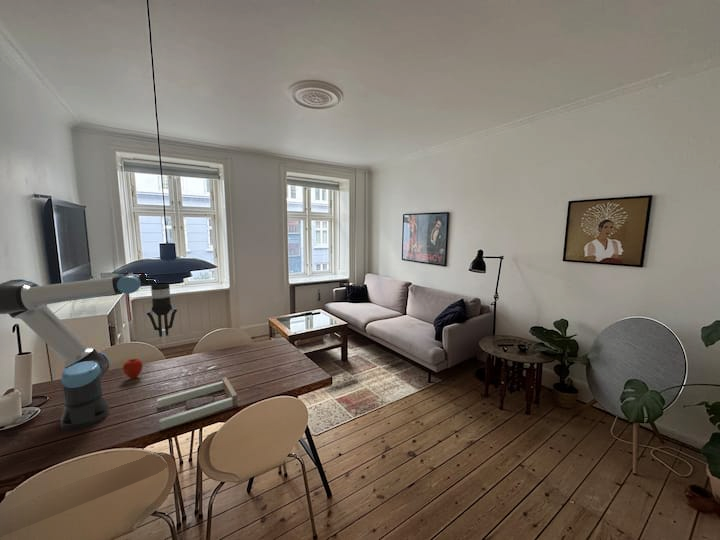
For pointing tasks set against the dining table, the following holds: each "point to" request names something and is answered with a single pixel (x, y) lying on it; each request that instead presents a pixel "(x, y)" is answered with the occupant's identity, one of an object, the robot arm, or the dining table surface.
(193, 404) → the stone
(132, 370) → the apple
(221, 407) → the grey u-shaped frame
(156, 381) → the dining table surface
